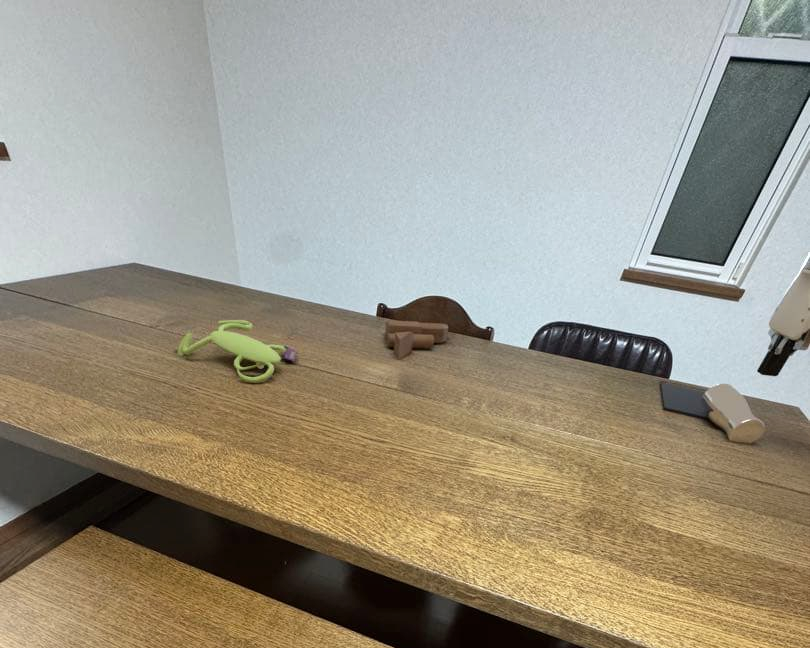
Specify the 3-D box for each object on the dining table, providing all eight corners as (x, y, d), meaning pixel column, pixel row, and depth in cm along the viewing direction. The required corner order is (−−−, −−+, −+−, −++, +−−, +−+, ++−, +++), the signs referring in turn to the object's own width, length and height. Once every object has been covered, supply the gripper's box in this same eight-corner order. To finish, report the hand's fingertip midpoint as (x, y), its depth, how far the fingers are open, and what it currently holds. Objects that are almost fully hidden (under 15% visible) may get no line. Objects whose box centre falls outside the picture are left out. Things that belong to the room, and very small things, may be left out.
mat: (727, 399, 113) (728, 397, 112) (739, 427, 100) (740, 425, 99) (660, 384, 116) (661, 382, 116) (663, 409, 103) (664, 407, 103)
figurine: (235, 336, 113) (232, 312, 109) (316, 366, 103) (315, 340, 99) (169, 352, 100) (163, 326, 97) (253, 387, 90) (250, 359, 87)
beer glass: (727, 452, 93) (700, 416, 104) (767, 440, 91) (735, 404, 101) (726, 425, 89) (698, 390, 100) (768, 412, 86) (735, 377, 97)
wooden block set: (382, 315, 120) (447, 318, 124) (381, 338, 124) (443, 340, 128) (395, 335, 107) (466, 338, 112) (393, 359, 111) (462, 361, 115)
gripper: (886, 275, 70) (809, 390, 82) (825, 260, 81) (765, 363, 93) (837, 270, 70) (767, 386, 82) (783, 256, 82) (729, 359, 93)
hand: (766, 373), depth 87 cm, fingers closed
